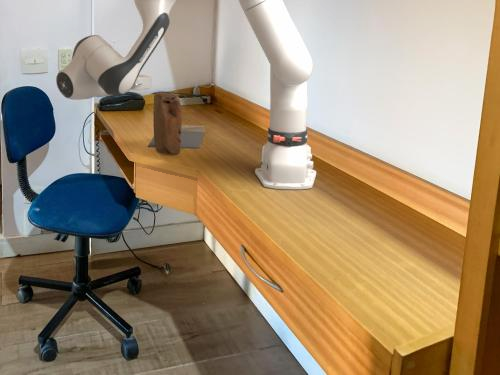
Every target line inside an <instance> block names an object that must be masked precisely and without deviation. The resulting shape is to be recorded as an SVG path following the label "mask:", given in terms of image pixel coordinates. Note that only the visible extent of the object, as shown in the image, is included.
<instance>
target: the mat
mask: <svg viewBox="0 0 500 375" xmlns="http://www.w3.org/2000/svg"><path fill="white" fill-rule="evenodd" d="M204 136H205V132H191V131H181V134H180V139H181V149H200V147H201V143H202V140H203V137H204ZM147 148H155V142H154V136H153V137H152V139H151V140H150V142H149V143H148V145H147Z"/></svg>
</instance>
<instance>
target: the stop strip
mask: <svg viewBox="0 0 500 375" xmlns="http://www.w3.org/2000/svg"><path fill="white" fill-rule="evenodd" d="M181 131H191V132H204V133H205V132H206V131H205V125H188V124H182V126H181Z"/></svg>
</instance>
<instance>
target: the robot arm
mask: <svg viewBox="0 0 500 375" xmlns="http://www.w3.org/2000/svg"><path fill="white" fill-rule="evenodd" d="M177 1H178V0H133V2H134V4H135V6H136V9H137V11H138V14H139V15H140V18H141V21H142V31H141V33H140V34H139V36H138V38H137V39H136V41H135V42H134V44H133V45H132V47H131V48H130V50H129V51H128V52H127V54H126V55H125V56H122V55H121V54H120V53H119V52H118V51H117V50H116V49H115V48H114V47H113V46H112V45H110V44H109V43H108V42H107V41H106V40H105V39H104V38H103V37H101V36H100V35H97V34H91V35H88V36H85V37H83V38H81V39H79V40H78V41H77V43H76V44H75V46H74V49H73V51H72V57H71V60H70V61H69V63H68V64H67V65H66V66H65V67H64V68H62V69H61V70H60V71H59V72H57V75H56V78H55V82H56V86H57V89H58V91H59V92H60V94H61V95H62V96H63V97H64V98H66V99H68V100H74V101H75V100H77V101H78V100H79V101H80V100H89V99H93V98H95V97H96V98H102V97H109V96H110V97H111V96H123V95H125V94H127V93H129V92H130V91H131V90H132V91H133V90H135V91H141V90H149V89H151V88H152V83H153V82H152V77H151V76H150V75H145V74H140V73H141V72H142V70H143V68H144V67H145V65H146V63H147V62H148V60H149V58H151V56H152V54H153V53H154V52H155V50H156V48H157V46H158V45H159V44H160V42H161V41H162V39H163V37H164V36H165V34H166V32H167V31H168V28H169V26H170V20H171V19H170V17H169V16H170V12H171V10H172V8H173V6H174V4H175V3H177ZM238 2H239V5H240V7H241V9H242V12H243V13H244V16H245V17H246V19H247V20H248V21H247V22H248V23H249V25H250V27H251V29H252V31H253V33H254V35H255V37H256V39H257V41H258V43H259V45H260V47H261V49H262V51H263V53H264V56H265V57H266V59H267V61H268V63H269V65H270V68H269V69H270V70H269V74H270V75H269V76H270V77H269V78H270V79H269V81H270V82H269V89H270V90H269V91H270V92H269V93H270V94H269V96H270V97H269V99H270V105H269V106H270V107H269V108H270V109H269V127H268V128H267V132H266V134H267V142H266V143H265V144H264V145H262V151H261V161H260V162H261V163H260V164H261V165H260V167H257V168H255V169H254V173H255V175H256V176H257V178H258V179H259V181H260V183H261V184H262V185H263V187H264V188H265V187H266V188H269V189H277V190H308V189H312V188H313V186H314V182H315V179H316V176H317V171H316V170H315V169H314V161H313V160H312V159H313V153H311V152H312V151H311V149H312V148H311V147H310V145H308V144H307V143H308V129H307V119H308V106H309V105H308V104H309V103H308V89H307V88H308V84H307V81H308V79H309V78H310V77H311V75H312V72H313V67H314V66H313V65H314V64H313V59H312V57H311V55H310V53H309V50H308V49H307V47H306V45H305V43H304V41H303V38H302V37H301V35H300V33H299V32H298V29H297V28H296V26H295V24H294V22H293V20H292V18H291V16H290V14H289V11H288V10H287V7H286V6H285V3H284V1H283V0H238Z"/></svg>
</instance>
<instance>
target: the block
mask: <svg viewBox="0 0 500 375" xmlns="http://www.w3.org/2000/svg"><path fill="white" fill-rule="evenodd" d="M182 114H183V113H182V105H181V100H180V97H179V95H177V94H176V93H174V92H173V93H172V92H156V93H155V94H154V98H153V137H154V142H155V147H154V148H155V151H157V153H160V154H163V155H167V156H168V155H169V156H172V155H178V154H179V153H180V152H181V149H182V148H181V139H180V134H181V126H182V125H183V123H182V122H183V116H182Z"/></svg>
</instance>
